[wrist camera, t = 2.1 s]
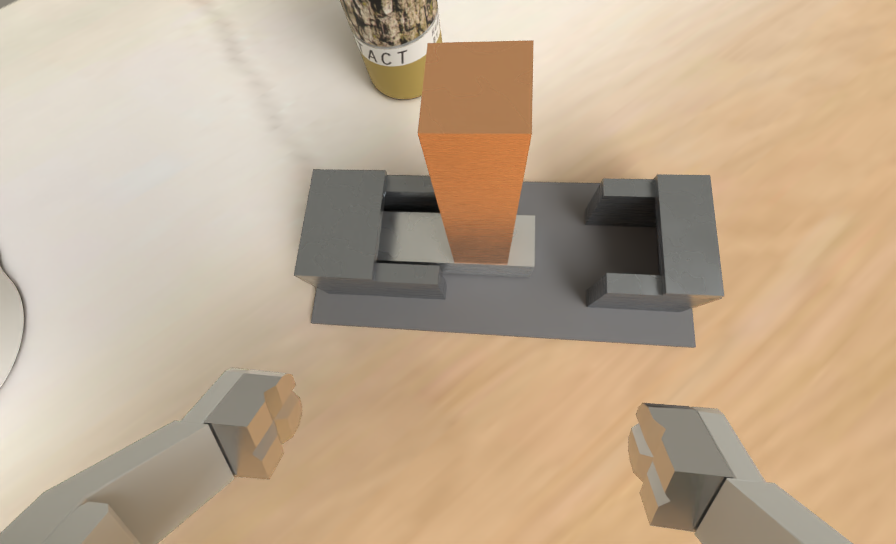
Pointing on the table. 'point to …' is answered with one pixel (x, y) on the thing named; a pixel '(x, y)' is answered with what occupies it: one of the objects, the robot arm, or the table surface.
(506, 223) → the brown piece
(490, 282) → the grey rectangular plate
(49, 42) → the table surface
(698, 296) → the socket
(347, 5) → the paper tube
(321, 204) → the grey u-shaped block
